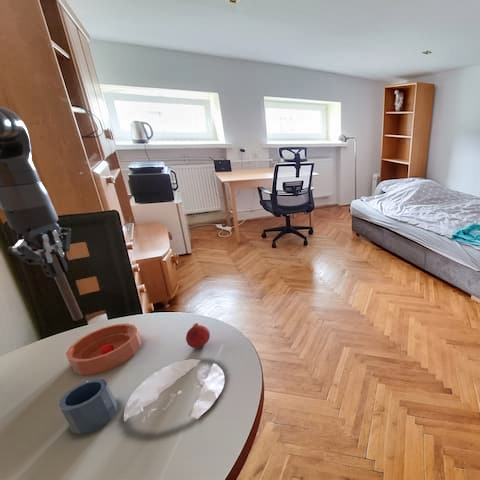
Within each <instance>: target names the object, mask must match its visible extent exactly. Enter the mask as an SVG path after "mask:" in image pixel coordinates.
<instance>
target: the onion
mask: <svg viewBox="0 0 480 480" xmlns="http://www.w3.org/2000/svg"><path fill="white" fill-rule="evenodd" d="M185 335H186V336H185V341H186V343H187V345H188V346H189V347H190V348H192V349H200V348H202V347H204V346H205V345H206V344H207V343H208V342H209V340H210V336H211V332H210V330H209V328H207V327H206V326H204V325H201V324H199V323H198V322H195V323H193V325H192V327H190V328H189V330H188V331H187V333H186V334H185Z"/></svg>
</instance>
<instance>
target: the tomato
mask: <svg viewBox="0 0 480 480" xmlns="http://www.w3.org/2000/svg"><path fill="white" fill-rule="evenodd" d="M113 350H114V346H113V345H111V344H107V345H104V346H103V347H102V348H101V353H102V354H103V355H104V354H106V353H108V352H111V351H113Z"/></svg>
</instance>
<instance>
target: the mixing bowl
mask: <svg viewBox="0 0 480 480" xmlns="http://www.w3.org/2000/svg"><path fill="white" fill-rule="evenodd" d="M142 342H143V340H142V337H141V335H140V332H139V329H138V328H137V327H136V325H135V324H132V323H116V324H112V325H107V326H104V327H101V328H99V329H96V330H93V331H92V332H88V334H85V335H84V336H82V337H80V338H79V339H77V340H76V341H75V342H74V343H73V344H72V345H70V346H69V348H68V350H67V352H66V353H65V355H66V358H67V360H68V362H69V364H70V367H71V368H72V370H73V373H75V374H77V375H78V374H79V375H81V376H87V375H88V376H89V375H96V374H101V373H103V372H107V371H110V370H112V369H114V368H115V367H118V366H119V365H122V364H124V363H125V362H126V361H128V360H130V359H131V358H132V357H133V356H135V355H136V353H137V352H138V351H139V350H140V349H141V347H142ZM107 344H111V345H113V346H114V350H113V351H111V352H108V353H106V354H104V355H103V354H102V353H101V348H102V347H103V346H104V345H107Z"/></svg>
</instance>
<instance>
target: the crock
mask: <svg viewBox="0 0 480 480" xmlns="http://www.w3.org/2000/svg"><path fill="white" fill-rule="evenodd" d="M57 406H58V408H59V410H60V412H61V414H62V416H63V418H64V419H65V421H66V423H67V424H68V426H69V428H70V430H71V431H72V433H73V434H76V435H83V434H89V433H90V432H94V431H95V430H97V429H99V428H101V427H102V426H104V425H105V424H107V423H108V422H109V421H110V420H111V419H113V417H114V415H115V414H116V412H117V411H118V410H117V409H118V403H117V401H116V399H115V397H114V395H113V393H112V390H111V388H110V386H109V384H108V382H107V381H106V380H105V379H104V378H93V379H89V380H86V381H84V382H81V383H79V384H76V385H75V386H74V387H73V388H71V389H69V390H68V391H67V392H65V393H64V395H62V397H61V398H60V399H59V401H58V405H57Z"/></svg>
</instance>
